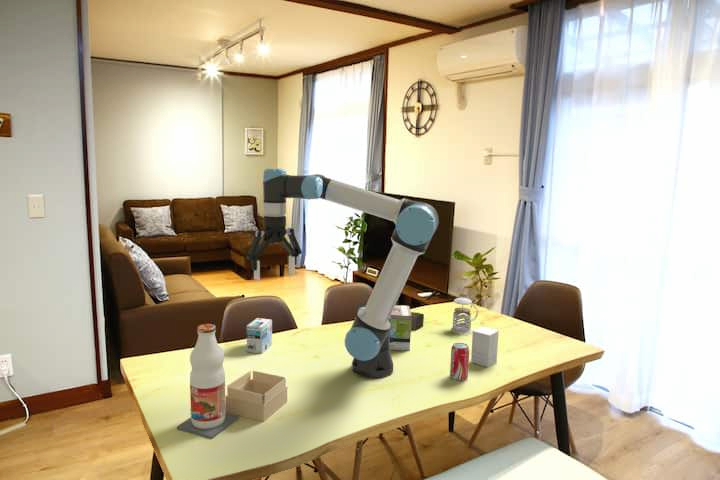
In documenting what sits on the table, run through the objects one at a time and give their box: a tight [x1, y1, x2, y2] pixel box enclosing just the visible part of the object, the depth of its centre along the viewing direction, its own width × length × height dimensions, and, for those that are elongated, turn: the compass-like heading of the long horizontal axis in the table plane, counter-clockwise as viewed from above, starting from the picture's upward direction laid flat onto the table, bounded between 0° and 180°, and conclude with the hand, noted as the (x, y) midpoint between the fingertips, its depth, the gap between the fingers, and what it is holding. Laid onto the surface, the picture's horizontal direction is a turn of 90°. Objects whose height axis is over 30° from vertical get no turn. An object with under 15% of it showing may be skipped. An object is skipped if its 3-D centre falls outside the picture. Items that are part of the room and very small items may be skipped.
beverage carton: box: [411, 311, 425, 331], centre depth 234 cm, size 8×19×7 cm, turn 59°
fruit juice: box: [189, 323, 227, 429], centre depth 140 cm, size 9×9×28 cm
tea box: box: [389, 304, 412, 351], centre depth 208 cm, size 15×10×15 cm, turn 179°
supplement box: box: [470, 326, 499, 368], centre depth 191 cm, size 7×7×13 cm
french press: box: [450, 276, 479, 335], centre depth 226 cm, size 10×12×25 cm
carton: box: [225, 370, 288, 422], centre depth 152 cm, size 13×13×8 cm
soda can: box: [449, 342, 471, 381], centre depth 177 cm, size 6×6×12 cm
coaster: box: [176, 412, 240, 439], centre depth 143 cm, size 12×12×1 cm
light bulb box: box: [246, 317, 273, 354], centre depth 199 cm, size 11×7×11 cm, turn 168°
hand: (274, 277), depth 171 cm, fingers open, 13 cm apart
